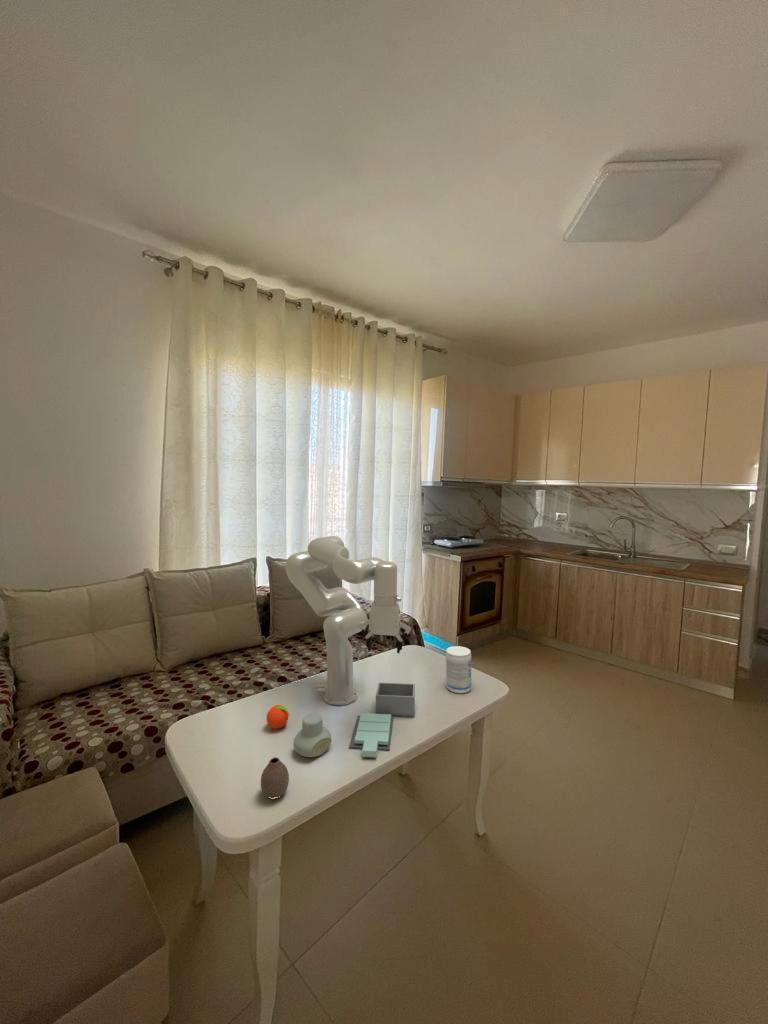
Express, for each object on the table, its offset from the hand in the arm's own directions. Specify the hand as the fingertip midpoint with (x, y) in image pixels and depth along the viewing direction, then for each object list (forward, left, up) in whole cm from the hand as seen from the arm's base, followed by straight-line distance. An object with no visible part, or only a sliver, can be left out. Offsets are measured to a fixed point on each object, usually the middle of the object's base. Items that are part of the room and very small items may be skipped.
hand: (384, 650), depth 131 cm
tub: (+3, +6, -24) cm, 25 cm away
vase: (-25, -34, -24) cm, 48 cm away
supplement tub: (+26, +23, -24) cm, 42 cm away
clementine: (-34, -7, -24) cm, 42 cm away
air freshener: (-20, -17, -24) cm, 35 cm away
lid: (-3, -10, -23) cm, 25 cm away
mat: (-3, -8, -24) cm, 25 cm away
